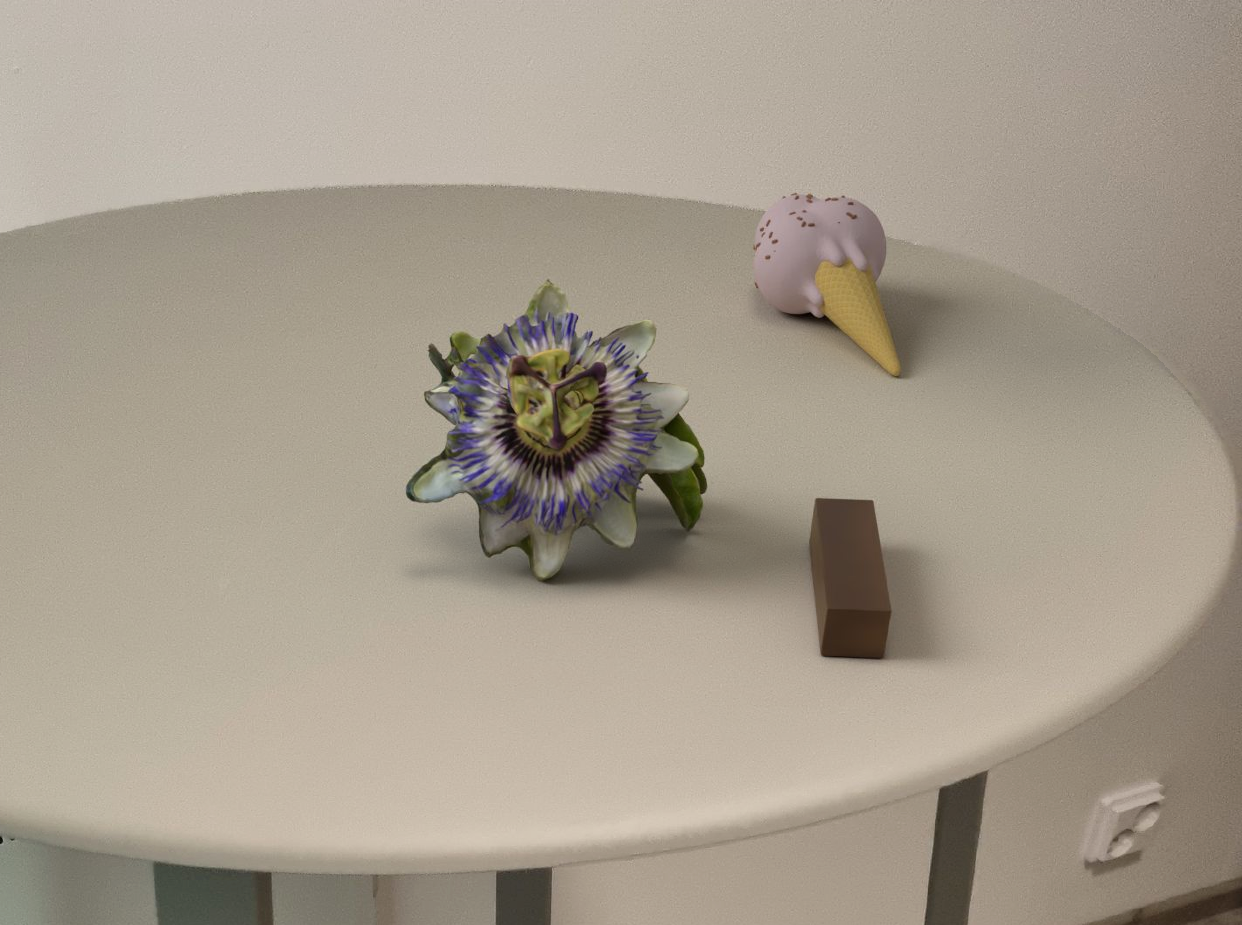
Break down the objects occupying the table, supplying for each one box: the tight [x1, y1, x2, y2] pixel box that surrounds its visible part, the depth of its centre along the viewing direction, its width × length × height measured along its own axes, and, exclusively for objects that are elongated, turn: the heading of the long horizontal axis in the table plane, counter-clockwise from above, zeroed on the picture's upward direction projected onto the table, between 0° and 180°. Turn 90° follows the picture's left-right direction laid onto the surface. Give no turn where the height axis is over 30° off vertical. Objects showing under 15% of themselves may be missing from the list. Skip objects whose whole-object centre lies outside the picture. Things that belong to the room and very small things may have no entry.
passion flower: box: [405, 278, 708, 581], centre depth 79 cm, size 11×11×12 cm
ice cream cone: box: [752, 192, 902, 377], centre depth 98 cm, size 6×7×15 cm
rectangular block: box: [808, 497, 892, 659], centre depth 76 cm, size 2×10×2 cm, turn 173°
